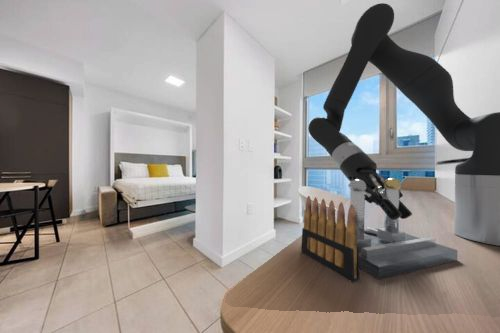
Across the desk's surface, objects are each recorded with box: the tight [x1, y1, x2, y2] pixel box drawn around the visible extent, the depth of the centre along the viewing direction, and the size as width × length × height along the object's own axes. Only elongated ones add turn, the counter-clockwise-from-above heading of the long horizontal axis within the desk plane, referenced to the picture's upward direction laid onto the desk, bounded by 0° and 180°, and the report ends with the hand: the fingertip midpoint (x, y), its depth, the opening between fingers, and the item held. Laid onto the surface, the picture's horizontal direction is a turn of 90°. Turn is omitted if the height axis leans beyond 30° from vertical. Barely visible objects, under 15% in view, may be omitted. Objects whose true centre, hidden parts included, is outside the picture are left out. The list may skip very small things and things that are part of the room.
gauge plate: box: [358, 228, 458, 280], centre depth 36 cm, size 22×13×3 cm, turn 107°
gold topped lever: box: [365, 177, 406, 243], centre depth 39 cm, size 4×7×14 cm, turn 17°
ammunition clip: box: [300, 195, 360, 283], centre depth 31 cm, size 11×2×12 cm, turn 30°
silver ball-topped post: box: [348, 179, 371, 251], centre depth 36 cm, size 4×7×14 cm, turn 17°
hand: (402, 217), depth 35 cm, fingers closed on gold topped lever, 2 cm apart
